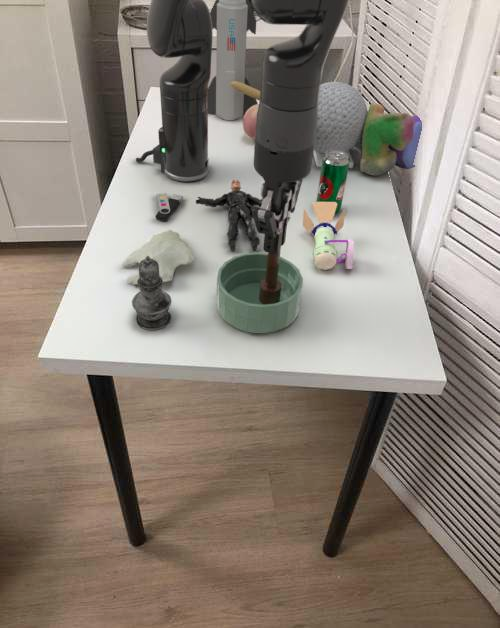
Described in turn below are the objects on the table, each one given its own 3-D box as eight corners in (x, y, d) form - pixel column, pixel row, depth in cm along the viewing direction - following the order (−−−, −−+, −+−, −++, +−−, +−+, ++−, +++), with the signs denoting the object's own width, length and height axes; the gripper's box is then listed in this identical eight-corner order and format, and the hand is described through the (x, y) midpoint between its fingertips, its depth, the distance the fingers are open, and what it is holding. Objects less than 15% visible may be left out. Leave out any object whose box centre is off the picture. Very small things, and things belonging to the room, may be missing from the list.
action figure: (197, 237, 96) (194, 174, 110) (197, 256, 99) (194, 192, 113) (291, 236, 98) (276, 174, 112) (288, 254, 101) (274, 192, 115)
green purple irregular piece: (422, 175, 130) (326, 139, 147) (444, 126, 126) (343, 94, 144) (395, 165, 120) (295, 128, 138) (418, 111, 116) (313, 80, 134)
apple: (252, 149, 129) (254, 115, 123) (236, 135, 134) (237, 102, 128) (281, 142, 132) (284, 109, 127) (264, 129, 137) (266, 97, 131)
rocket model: (256, 109, 146) (264, -22, 125) (257, 121, 140) (265, -14, 120) (202, 107, 145) (201, -26, 125) (201, 118, 140) (200, -18, 119)
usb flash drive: (166, 221, 105) (166, 217, 105) (140, 216, 106) (140, 211, 106) (183, 199, 111) (183, 195, 111) (159, 194, 112) (159, 189, 112)
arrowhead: (189, 289, 90) (204, 238, 101) (186, 271, 88) (201, 221, 99) (115, 289, 92) (138, 239, 103) (110, 273, 89) (134, 223, 101)
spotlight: (302, 232, 106) (303, 201, 100) (346, 232, 105) (351, 202, 99) (302, 279, 98) (304, 249, 92) (350, 281, 98) (355, 250, 92)
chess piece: (135, 306, 88) (127, 243, 80) (172, 305, 88) (169, 243, 80) (132, 332, 84) (124, 269, 75) (172, 331, 84) (168, 268, 76)
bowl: (202, 319, 86) (202, 289, 82) (238, 272, 95) (239, 244, 91) (280, 346, 83) (284, 317, 79) (309, 295, 92) (314, 266, 88)
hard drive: (310, 135, 132) (317, 160, 123) (344, 136, 133) (354, 161, 123) (309, 142, 133) (316, 167, 124) (343, 143, 134) (352, 168, 125)
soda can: (339, 218, 109) (349, 162, 101) (313, 215, 110) (322, 158, 102) (341, 205, 113) (351, 150, 105) (316, 201, 114) (325, 146, 105)
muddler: (255, 301, 88) (261, 221, 78) (263, 289, 90) (271, 209, 80) (275, 308, 87) (284, 228, 77) (283, 295, 89) (293, 216, 79)
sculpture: (375, 165, 128) (417, 170, 123) (358, 177, 122) (402, 184, 117) (377, 98, 120) (422, 101, 115) (359, 108, 114) (406, 112, 109)
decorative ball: (393, 119, 120) (352, 76, 126) (357, 103, 109) (315, 58, 115) (348, 172, 128) (312, 130, 134) (311, 163, 117) (273, 118, 123)
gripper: (278, 109, 76) (268, 217, 87) (234, 150, 66) (230, 265, 78) (330, 121, 74) (313, 230, 85) (294, 166, 64) (280, 282, 76)
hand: (273, 247), depth 82 cm, fingers closed on muddler, 2 cm apart
